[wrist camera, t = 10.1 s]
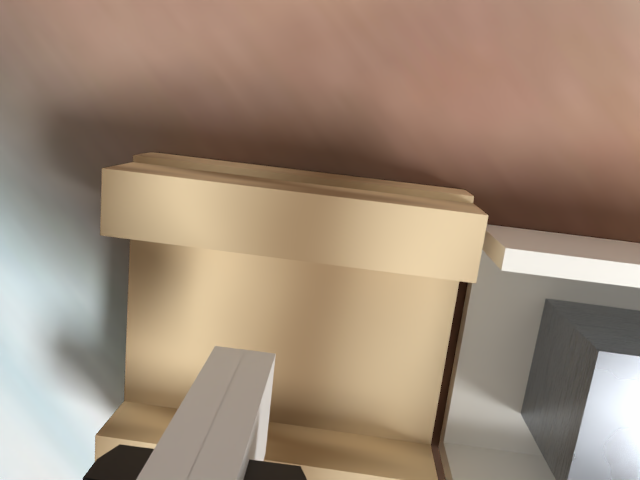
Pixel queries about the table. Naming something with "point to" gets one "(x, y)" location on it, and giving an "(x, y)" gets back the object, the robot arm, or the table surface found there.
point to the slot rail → (293, 303)
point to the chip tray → (519, 341)
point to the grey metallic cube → (586, 391)
